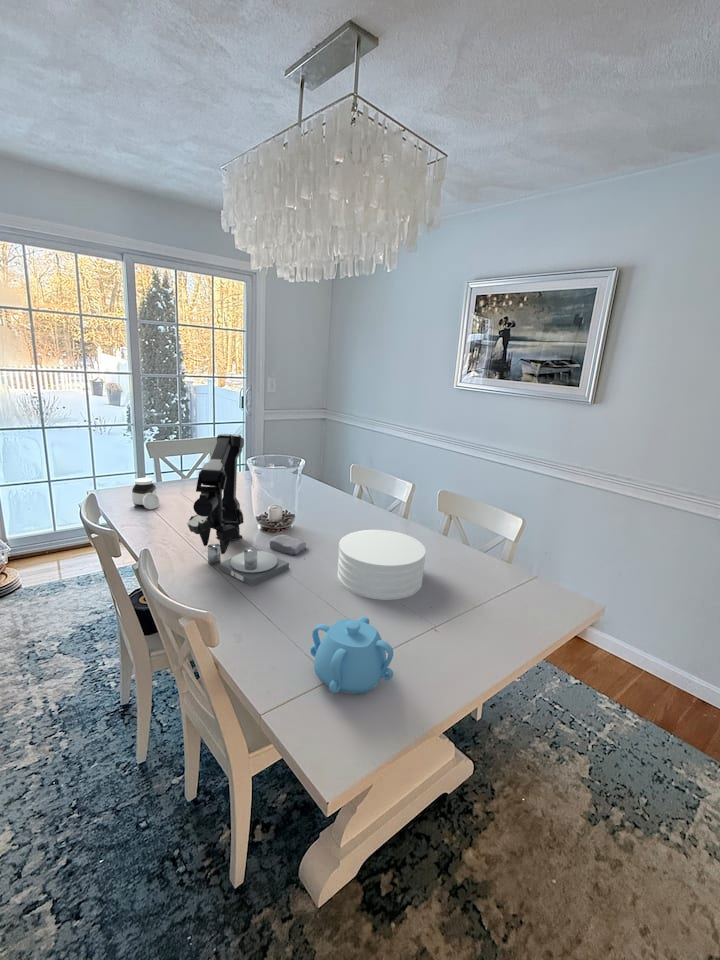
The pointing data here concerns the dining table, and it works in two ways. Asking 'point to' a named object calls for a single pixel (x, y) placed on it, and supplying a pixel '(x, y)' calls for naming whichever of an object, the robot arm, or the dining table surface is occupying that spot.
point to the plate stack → (381, 564)
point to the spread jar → (145, 493)
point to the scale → (265, 569)
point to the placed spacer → (250, 558)
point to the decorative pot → (351, 656)
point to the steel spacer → (214, 554)
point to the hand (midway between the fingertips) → (214, 549)
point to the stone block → (287, 544)
